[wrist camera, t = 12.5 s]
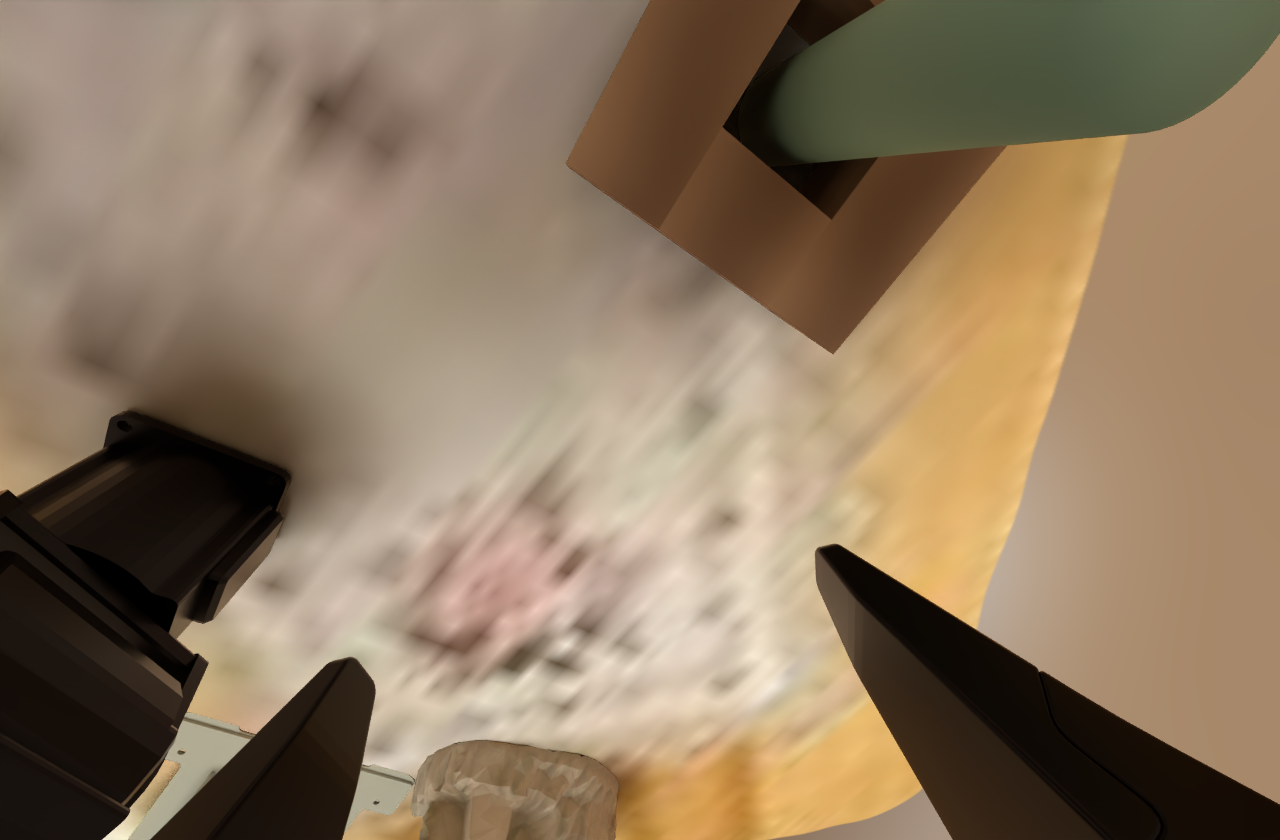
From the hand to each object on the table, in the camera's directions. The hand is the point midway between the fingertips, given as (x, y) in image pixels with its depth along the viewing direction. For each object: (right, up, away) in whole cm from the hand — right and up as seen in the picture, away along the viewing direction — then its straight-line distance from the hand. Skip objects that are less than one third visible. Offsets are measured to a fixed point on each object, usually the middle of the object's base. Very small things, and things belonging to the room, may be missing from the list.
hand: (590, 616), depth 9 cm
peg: (+6, +15, +8) cm, 18 cm away
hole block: (+6, +15, +8) cm, 18 cm away
